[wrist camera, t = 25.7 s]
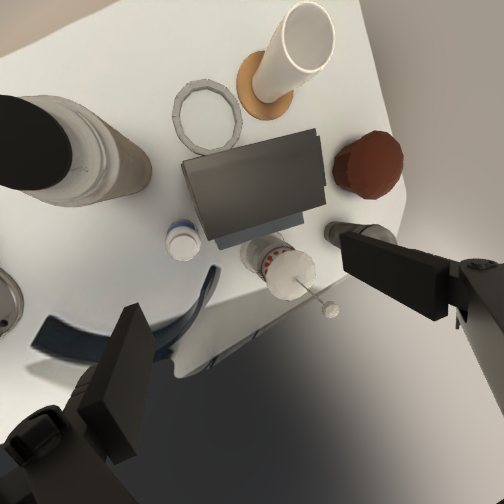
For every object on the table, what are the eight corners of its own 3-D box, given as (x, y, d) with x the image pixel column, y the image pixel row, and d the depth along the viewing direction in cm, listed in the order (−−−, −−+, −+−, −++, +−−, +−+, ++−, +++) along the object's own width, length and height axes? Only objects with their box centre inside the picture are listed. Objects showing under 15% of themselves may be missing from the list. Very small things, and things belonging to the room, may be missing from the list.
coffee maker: (200, 226, 45) (215, 264, 24) (156, 91, 37) (124, -17, 17) (265, 206, 47) (329, 226, 27) (236, 75, 40) (292, -36, 19)
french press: (278, 220, 48) (366, 256, 25) (293, 269, 52) (380, 340, 29) (233, 238, 47) (282, 294, 24) (252, 288, 51) (309, 377, 28)
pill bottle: (160, 231, 43) (155, 244, 34) (185, 213, 43) (186, 222, 34) (180, 254, 45) (179, 272, 36) (204, 237, 45) (209, 251, 36)
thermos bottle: (86, 171, 38) (-126, 150, 12) (116, 129, 37) (-35, 14, 11) (133, 203, 41) (47, 244, 15) (162, 165, 40) (124, 138, 14)
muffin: (325, 141, 47) (360, 131, 37) (374, 132, 49) (419, 121, 39) (329, 202, 50) (362, 207, 41) (374, 192, 53) (415, 194, 43)
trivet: (244, 126, 42) (245, 125, 41) (229, 58, 39) (230, 56, 38) (296, 113, 44) (298, 113, 43) (286, 47, 40) (287, 46, 40)
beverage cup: (353, 232, 54) (442, 259, 35) (329, 254, 54) (406, 293, 35) (336, 208, 51) (424, 223, 33) (311, 231, 51) (385, 260, 33)
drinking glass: (287, 67, 41) (341, 8, 27) (282, 112, 42) (331, 78, 29) (248, 58, 39) (284, -10, 25) (245, 105, 41) (277, 66, 27)
